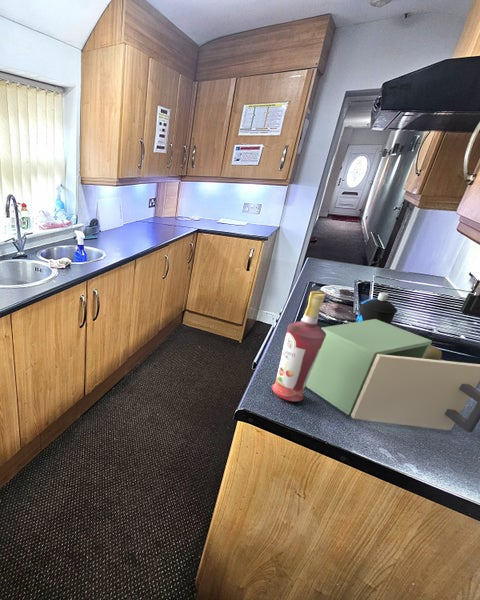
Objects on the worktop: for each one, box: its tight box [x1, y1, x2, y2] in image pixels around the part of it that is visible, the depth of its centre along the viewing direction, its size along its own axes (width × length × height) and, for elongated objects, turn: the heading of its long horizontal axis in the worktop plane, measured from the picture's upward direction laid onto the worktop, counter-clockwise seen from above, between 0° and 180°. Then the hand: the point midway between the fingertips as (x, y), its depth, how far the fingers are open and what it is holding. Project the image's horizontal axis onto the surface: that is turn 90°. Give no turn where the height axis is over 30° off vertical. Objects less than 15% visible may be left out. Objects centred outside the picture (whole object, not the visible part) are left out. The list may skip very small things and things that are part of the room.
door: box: [350, 354, 480, 433], centre depth 68 cm, size 6×19×17 cm, turn 79°
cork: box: [424, 344, 443, 360], centre depth 86 cm, size 6×6×11 cm
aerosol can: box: [354, 291, 398, 325], centre depth 98 cm, size 8×8×20 cm
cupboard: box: [305, 319, 433, 416], centre depth 81 cm, size 12×19×17 cm, turn 107°
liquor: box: [271, 290, 326, 403], centre depth 76 cm, size 7×7×28 cm
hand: (471, 314), depth 65 cm, fingers closed
